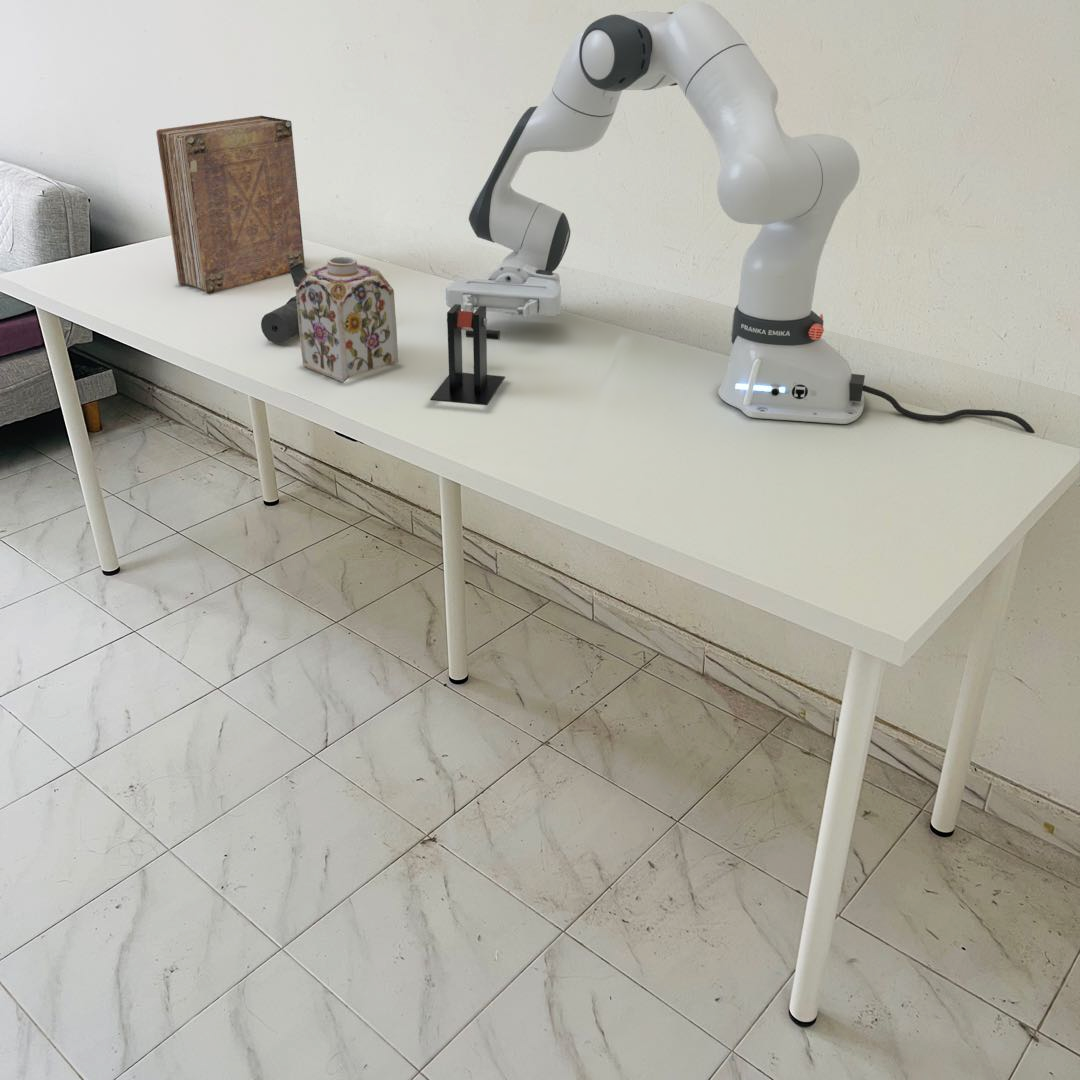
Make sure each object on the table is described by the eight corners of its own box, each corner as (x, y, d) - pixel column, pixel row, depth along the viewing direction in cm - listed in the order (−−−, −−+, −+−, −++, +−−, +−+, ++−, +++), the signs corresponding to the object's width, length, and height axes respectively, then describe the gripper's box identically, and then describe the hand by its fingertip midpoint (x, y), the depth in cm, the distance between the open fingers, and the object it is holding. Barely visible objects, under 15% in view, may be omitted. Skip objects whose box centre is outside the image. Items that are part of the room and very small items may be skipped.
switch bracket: (451, 378, 178) (448, 295, 172) (504, 383, 177) (504, 300, 170) (430, 406, 168) (426, 319, 161) (486, 411, 167) (485, 324, 160)
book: (205, 294, 217) (183, 135, 202) (178, 285, 222) (154, 130, 207) (305, 268, 234) (291, 119, 219) (278, 260, 239) (262, 115, 224)
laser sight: (253, 341, 193) (246, 286, 188) (321, 306, 211) (316, 254, 206) (300, 349, 190) (294, 293, 185) (365, 312, 208) (361, 260, 203)
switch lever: (466, 340, 179) (468, 326, 179) (499, 343, 178) (501, 328, 178) (446, 325, 166) (448, 309, 166) (481, 328, 165) (483, 312, 165)
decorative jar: (300, 367, 182) (289, 259, 173) (355, 350, 190) (348, 246, 181) (345, 385, 175) (336, 274, 166) (401, 367, 183) (395, 260, 174)
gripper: (456, 266, 196) (434, 288, 184) (568, 274, 193) (553, 297, 181) (456, 300, 199) (435, 324, 187) (567, 309, 196) (552, 333, 184)
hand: (494, 311), depth 184 cm, fingers open, 8 cm apart
